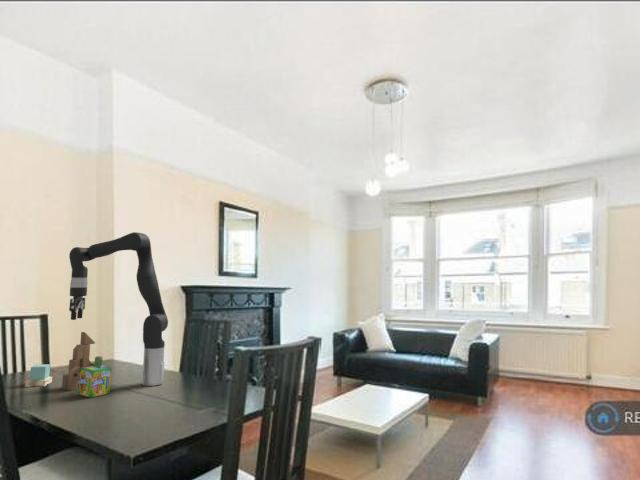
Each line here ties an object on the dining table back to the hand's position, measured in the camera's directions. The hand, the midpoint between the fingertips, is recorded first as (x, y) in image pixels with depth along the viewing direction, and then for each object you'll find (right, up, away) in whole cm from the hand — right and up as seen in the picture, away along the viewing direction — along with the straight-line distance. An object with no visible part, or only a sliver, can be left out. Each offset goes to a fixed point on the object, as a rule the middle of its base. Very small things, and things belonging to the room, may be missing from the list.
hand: (76, 319), depth 206 cm
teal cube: (-10, -26, -12) cm, 30 cm away
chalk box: (+24, -28, -27) cm, 46 cm away
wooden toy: (+12, -29, -15) cm, 35 cm away
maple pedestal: (-11, -29, -12) cm, 33 cm away
